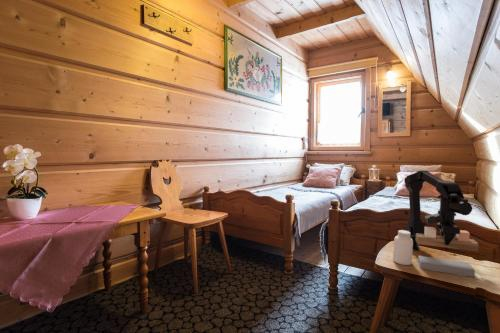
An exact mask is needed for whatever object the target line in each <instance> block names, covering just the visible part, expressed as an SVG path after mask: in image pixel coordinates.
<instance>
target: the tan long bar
mask: <svg viewBox="0 0 500 333" xmlns="http://www.w3.org/2000/svg"><path fill="white" fill-rule="evenodd" d="M416 242H417V244H419V245H424V246H430V247H431V246H432V247H440V248H446V249H447V248H449V249H454V250H455V249H456V250H464V251H471V252H472V251H473V252H478V251H479V243H478V242H477V241H476V240H475V239H471V238H469V242H464V241H458V240H457V239H456V237H454V238H453V239H452V241H451V242H450V243H449V245H445V239H444V236H441V235H436V238H429V237H425V235H424V234H418V233H416Z"/></svg>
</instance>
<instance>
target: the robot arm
mask: <svg viewBox="0 0 500 333" xmlns="http://www.w3.org/2000/svg"><path fill="white" fill-rule="evenodd" d="M425 183H428V184H429V185H431V186H433V188H435V190H436V192H437V193H438V194H439V195H438V196H437V197H436V198H438V199H439V200H440V201H439V203H440V204H439V210H437V213H433V214H427V215H424V218H425V219H424V220H425V222H424V221H423V220H422V218H421V217H422V216H421V196H420V195H421V194H420V192H421V190H422V189H423V187H424V184H425ZM404 185H405V189H406V190H407V191H408V193H409V194H408V198H409V216H410V217H409V220H408V221H407V223H406V224H407V225H406V228H405V229H404V230H405V231H409V232H410V233H411V236H410V238H412V240H413V250H417V251H421V248H420V244H417V242H416V233H418V234H424V229H425V226H426V224H427V225H429V226H430V225H433V224H435V225H436V226H437V228H439V232H440V236H444V239H445V245H449V243H450V242H451V241H452V239H453V238H456V234H460V230H461V229H460V228H459V227H458V226H457V225H456V222H455V219H456V218H455V217H456V216H457V214H458V215H461V216H468V215H471V213H472V212H473V206H472V204H471V202H469V199H467V198H465V196H464V194H463V191H462V190H461V188H460V185H459V184H458V183H457V182H456V181H455V182H454V181H449V180H444V179H443V178H440V177H439V176H437V175H435V174H433V173H431V172H430V171H428V170H417V171H416V172H414V173H411V174H409V175H406V177H405V178H404ZM426 227H427V226H426Z"/></svg>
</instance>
